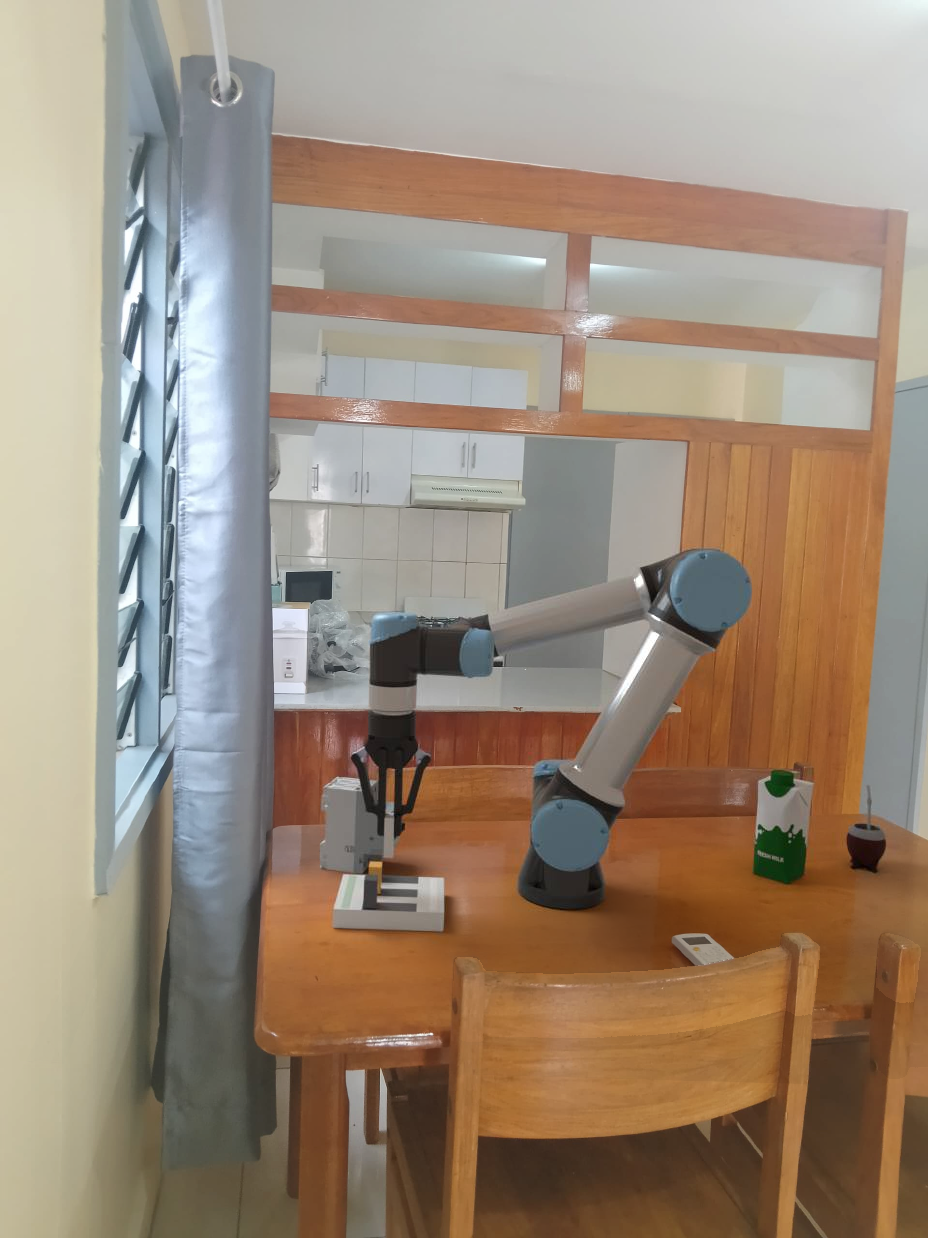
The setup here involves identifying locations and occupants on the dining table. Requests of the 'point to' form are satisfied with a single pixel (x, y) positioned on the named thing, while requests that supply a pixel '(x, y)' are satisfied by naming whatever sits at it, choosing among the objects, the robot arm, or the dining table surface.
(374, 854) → the block
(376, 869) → the block
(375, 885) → the block
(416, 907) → the panel
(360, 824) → the circuit breaker
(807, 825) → the milk carton
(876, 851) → the mate gourd
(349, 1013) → the dining table surface
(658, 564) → the robot arm
